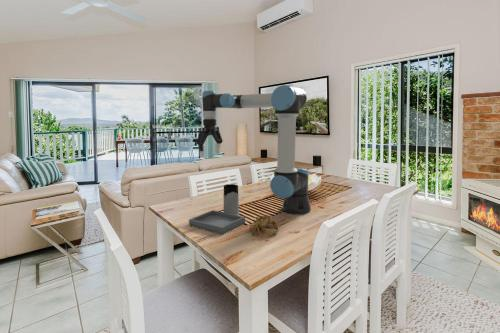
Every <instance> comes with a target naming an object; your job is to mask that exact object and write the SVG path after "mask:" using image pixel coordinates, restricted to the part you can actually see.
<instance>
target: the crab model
mask: <svg viewBox="0 0 500 333" xmlns="http://www.w3.org/2000/svg"><path fill="white" fill-rule="evenodd" d="M255 218H256V220H254V222H253V223H252V225H251V224H250V225H249V228H248V231H252V232H251V235H252V236H254V233H255V232H256V230H257V232H258V234H259V235H260V236H261V237H262V238H263V235H262V233H261V231H263V232H264V233H266V234H269V235H270V234H271V235H277V233H279V230H280V229H279V224H278V221H276V220H272V219H271V218H270V216H268V215H264V216H263V215H259V216H256V217H255ZM257 218H258V219H257ZM269 225H272V226H273V228H266V226H269ZM260 230H261V231H260Z"/></svg>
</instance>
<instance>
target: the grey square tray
mask: <svg viewBox="0 0 500 333" xmlns="http://www.w3.org/2000/svg"><path fill="white" fill-rule="evenodd" d="M244 224H246V217H245V216H242V215H233V214H228V213H224V211H218V210H215V209H212V210H209V211H207V212H205V213H202V214H200V215H197V216H194V217H192V218H190V219H188V226H189V225H191V226H190V227H192V226H194V227H193V228H196V227H198V228H197V229H200V228H201V229H200V230H203V229H205V230H204V231H207V230H208V231H207V232H211V231H212V233H214V232H215V234H218V233H219V234H220V235H222V234H223V235H225V234H227V233H229V232H231V231H233V230H235V229H237V228H238V227H240V226H243V225H244ZM236 227H237V228H236ZM234 228H235V229H234ZM232 229H233V230H232ZM230 230H231V231H230ZM228 231H229V232H228ZM226 232H227V233H226ZM224 233H225V234H224ZM219 234H218V235H219Z"/></svg>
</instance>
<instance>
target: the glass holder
mask: <svg viewBox="0 0 500 333" xmlns="http://www.w3.org/2000/svg"><path fill="white" fill-rule="evenodd" d="M239 196H240V195H239V185H238V184H233V183H232V184H231V183H229V184H225V185H223V212H224V213H228V214H233V215H238V216H240V209H239V208H240V206H239V204H240V202H239V201H240V200H239V199H240V198H239Z"/></svg>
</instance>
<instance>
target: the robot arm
mask: <svg viewBox="0 0 500 333" xmlns="http://www.w3.org/2000/svg"><path fill="white" fill-rule="evenodd" d="M201 100H202V102H201V103H202V118H203V120H202V126H204V127H200V128H199V132H198V133H199V134H198V137H197V139H196V145H197V146H199V147H198V148H199V151H200V153H199V156H200V158H205V157H206V151H205V150H206V149H205V142H206V140H207V138H208V137H209V136H212V137H213V140H214V141H215V155H221V144H222V143H223V141H224V139H223V138H222V135H221V132H220V127H219V126H217V109H238V110H239V109H257V108H260V109H261V108H265V109H266V108H274V115H275V116H276V118H277V160H276V162H277V164H276V165H277V166H276V168H274V171H273V177H272V178H271V180H270V181H269V182H270V184H269V188H270V190H271V193H273V194H274V196H276V197H277V198H280V199H284V200H283V204H282V210H283V212H286V213H289V214H296V215H300V214H301V215H302V214H303V215H304V214H307V213H310V212H311V211H312V209H311V208H312V207H311V203H310V198H309V197H308V195H309V194H308V193H309V170H308V169H307V168H301V167H300V168H299V167H296V137H297V136H296V130H297V128H296V126H297V125H296V124H297V118H298V116H299V115H300V110H301V109H303V108H304V107H305V105H306V104H307V100H308V97H307V93H306V91H305V90H304V89H302V88H301V87H299V86H293V85H290V84H281V85H279V86H277V87H276V88H275V89H274V90H273V91H272V93H271V92H269V93H253V94H251V93H250V94H233V93H227V92H226V93H219V94H218V93H216V91H215V90H203V91H202V97H201Z"/></svg>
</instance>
